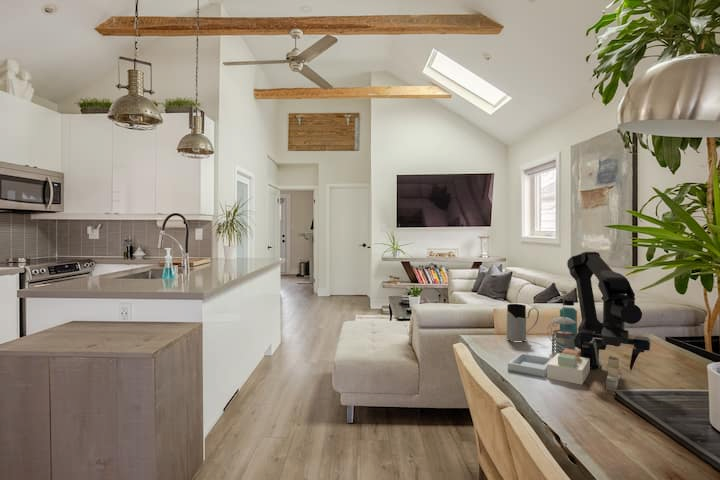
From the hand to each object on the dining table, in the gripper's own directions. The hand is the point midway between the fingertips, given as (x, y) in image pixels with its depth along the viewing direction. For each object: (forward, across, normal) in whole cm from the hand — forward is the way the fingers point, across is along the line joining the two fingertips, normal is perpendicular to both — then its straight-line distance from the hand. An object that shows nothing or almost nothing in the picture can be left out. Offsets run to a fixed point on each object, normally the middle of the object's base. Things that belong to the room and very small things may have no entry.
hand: (613, 366), depth 130 cm
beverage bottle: (+5, -18, +32) cm, 38 cm away
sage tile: (0, -12, -4) cm, 13 cm away
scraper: (+5, 0, 0) cm, 5 cm away
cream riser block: (+5, -12, 0) cm, 13 cm away
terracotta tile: (0, -12, +3) cm, 13 cm away
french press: (+5, -18, +19) cm, 27 cm away
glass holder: (+5, -37, +37) cm, 53 cm away
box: (+5, -24, 0) cm, 25 cm away
